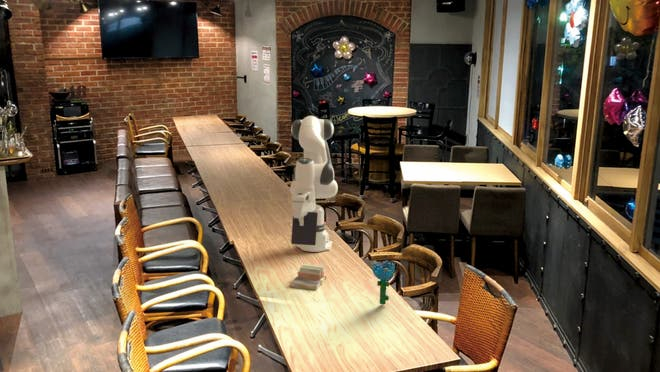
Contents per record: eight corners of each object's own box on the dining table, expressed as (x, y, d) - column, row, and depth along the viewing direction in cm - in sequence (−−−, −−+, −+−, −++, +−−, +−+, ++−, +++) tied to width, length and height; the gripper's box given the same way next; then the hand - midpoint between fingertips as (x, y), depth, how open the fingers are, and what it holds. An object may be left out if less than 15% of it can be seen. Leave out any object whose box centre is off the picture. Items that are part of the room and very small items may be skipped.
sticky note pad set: (301, 276, 289) (301, 262, 288) (326, 279, 285) (326, 265, 284) (289, 286, 275) (289, 272, 274) (316, 290, 271) (316, 275, 270)
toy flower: (368, 302, 258) (369, 262, 254) (384, 298, 263) (385, 259, 259) (380, 309, 250) (382, 268, 247) (397, 305, 255) (398, 264, 252)
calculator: (314, 244, 274) (316, 212, 274) (315, 245, 270) (317, 212, 270) (290, 243, 272) (293, 210, 273) (291, 244, 268) (293, 211, 268)
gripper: (306, 189, 280) (306, 218, 282) (290, 197, 261) (289, 228, 263) (318, 190, 278) (318, 219, 280) (303, 198, 259) (303, 229, 261)
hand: (304, 223), depth 272 cm, fingers closed on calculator, 5 cm apart
